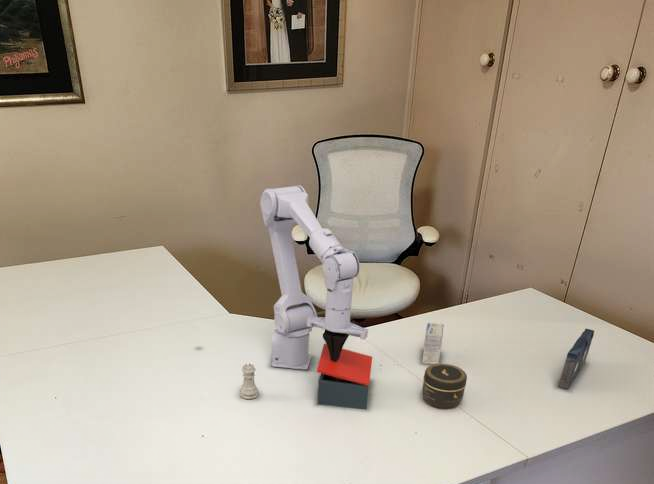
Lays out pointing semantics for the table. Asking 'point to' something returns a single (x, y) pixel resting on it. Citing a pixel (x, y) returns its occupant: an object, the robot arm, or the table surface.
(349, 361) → the lid
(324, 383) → the dark grey open box
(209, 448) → the table surface
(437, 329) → the medicine box
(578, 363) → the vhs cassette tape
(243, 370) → the rook chess piece
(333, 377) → the block
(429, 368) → the jar
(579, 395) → the table surface
